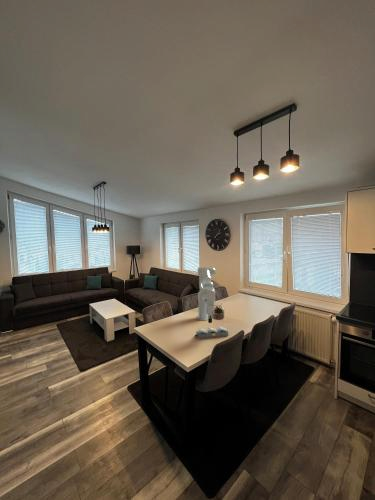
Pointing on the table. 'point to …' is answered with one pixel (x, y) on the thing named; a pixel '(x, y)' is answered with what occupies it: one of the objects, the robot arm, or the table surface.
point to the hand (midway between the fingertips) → (210, 322)
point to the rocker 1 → (202, 330)
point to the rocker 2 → (212, 329)
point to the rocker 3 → (222, 328)
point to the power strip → (211, 334)
